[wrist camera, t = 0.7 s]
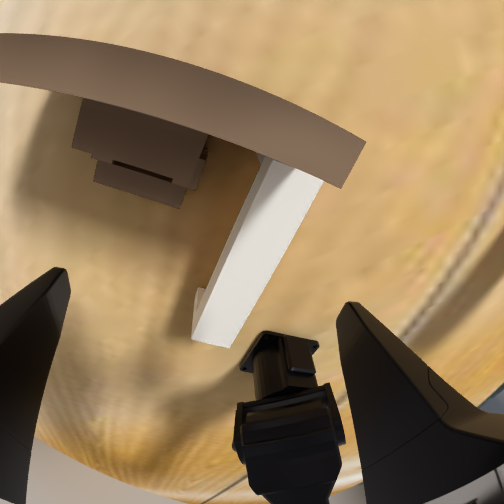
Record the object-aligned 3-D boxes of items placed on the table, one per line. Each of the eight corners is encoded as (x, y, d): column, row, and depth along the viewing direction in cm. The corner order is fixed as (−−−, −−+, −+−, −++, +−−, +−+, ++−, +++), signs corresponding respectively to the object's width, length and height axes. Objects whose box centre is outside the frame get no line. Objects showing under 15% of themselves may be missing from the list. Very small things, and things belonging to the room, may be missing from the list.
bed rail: (227, 304, 26) (229, 348, 22) (195, 295, 26) (190, 339, 21) (302, 157, 20) (323, 181, 16) (262, 139, 19) (273, 159, 15)
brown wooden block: (250, 216, 22) (266, 314, 14) (50, 152, 18) (-38, 213, 9) (301, 109, 18) (366, 141, 10) (79, 40, 14) (-19, 33, 5)
